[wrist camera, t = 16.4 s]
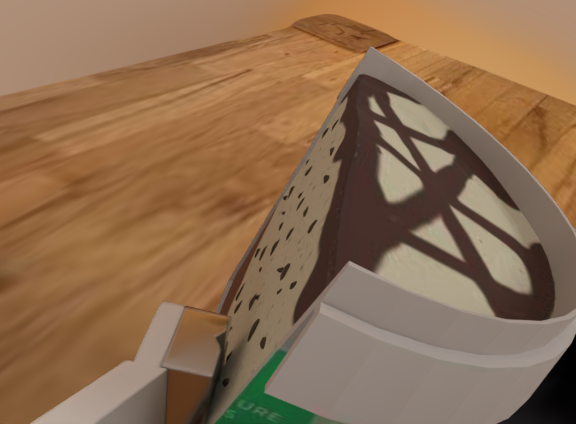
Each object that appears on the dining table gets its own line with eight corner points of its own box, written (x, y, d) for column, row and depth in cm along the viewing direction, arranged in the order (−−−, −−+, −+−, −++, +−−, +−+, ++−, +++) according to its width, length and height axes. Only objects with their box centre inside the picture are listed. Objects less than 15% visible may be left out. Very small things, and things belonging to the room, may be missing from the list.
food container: (347, 704, 12) (770, 519, 6) (96, 598, 11) (345, 292, 6) (365, 325, 22) (531, 139, 17) (237, 257, 21) (370, 41, 16)
